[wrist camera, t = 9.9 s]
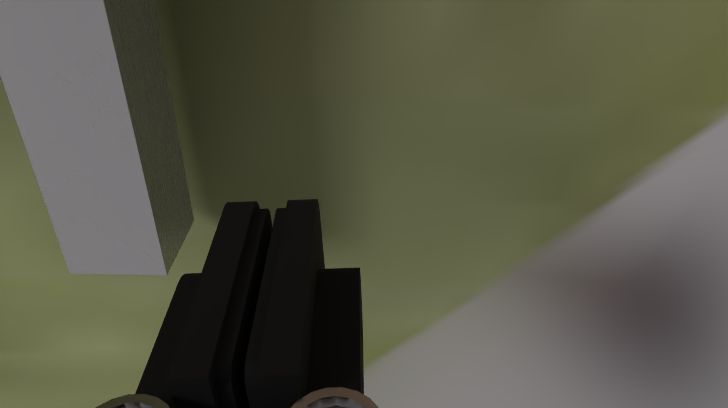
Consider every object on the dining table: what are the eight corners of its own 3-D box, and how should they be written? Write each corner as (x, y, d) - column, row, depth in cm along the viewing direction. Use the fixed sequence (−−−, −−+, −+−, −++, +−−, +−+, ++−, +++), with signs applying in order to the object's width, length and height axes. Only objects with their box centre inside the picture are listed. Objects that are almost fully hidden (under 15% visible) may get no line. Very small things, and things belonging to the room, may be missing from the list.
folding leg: (-53, -354, 12) (-170, -406, 9) (88, -352, 12) (9, -405, 9) (109, 218, 20) (69, 273, 17) (193, 220, 20) (167, 275, 17)
